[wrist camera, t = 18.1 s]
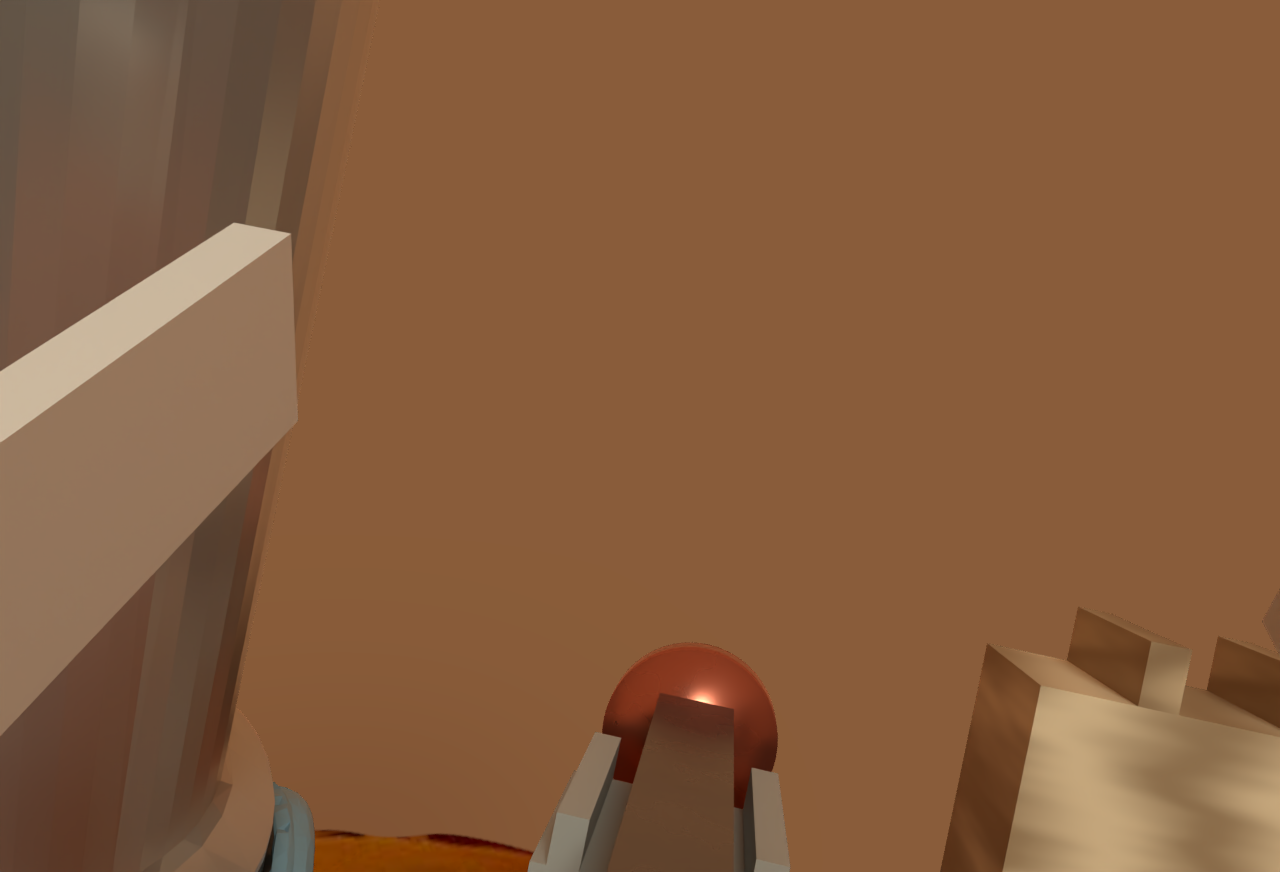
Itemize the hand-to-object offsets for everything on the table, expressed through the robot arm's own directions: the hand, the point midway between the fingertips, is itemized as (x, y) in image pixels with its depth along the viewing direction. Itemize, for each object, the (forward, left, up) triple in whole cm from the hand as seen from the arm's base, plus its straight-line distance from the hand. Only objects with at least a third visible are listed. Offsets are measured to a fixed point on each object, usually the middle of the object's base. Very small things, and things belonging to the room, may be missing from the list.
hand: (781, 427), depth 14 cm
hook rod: (0, +20, -16) cm, 26 cm away
